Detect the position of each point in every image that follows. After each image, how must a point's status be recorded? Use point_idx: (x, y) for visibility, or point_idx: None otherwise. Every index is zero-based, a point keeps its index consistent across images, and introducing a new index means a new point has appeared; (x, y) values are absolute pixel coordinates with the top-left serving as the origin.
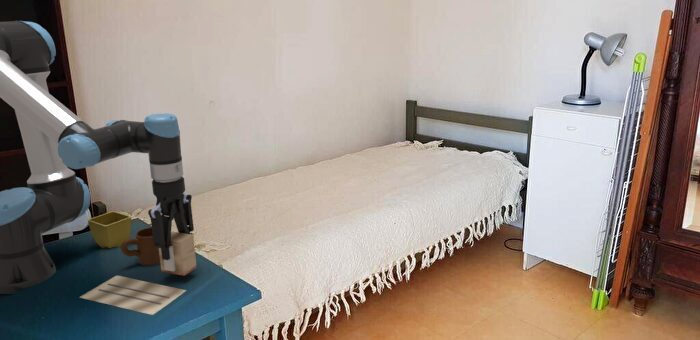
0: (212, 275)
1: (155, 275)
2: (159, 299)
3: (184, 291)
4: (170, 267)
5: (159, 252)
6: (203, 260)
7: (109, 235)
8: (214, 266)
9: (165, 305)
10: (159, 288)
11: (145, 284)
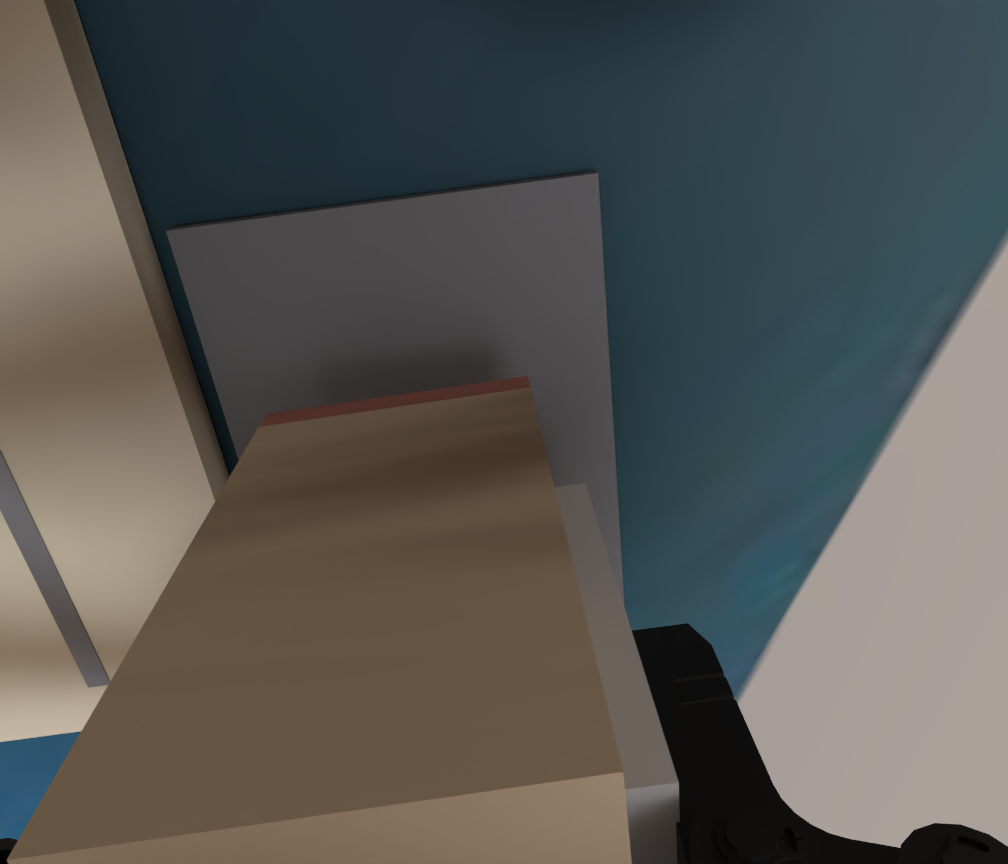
0: (669, 613)
1: (389, 102)
2: (17, 641)
3: None
4: None
5: (171, 589)
6: (939, 326)
7: None
8: (838, 515)
9: (3, 738)
10: (141, 493)
11: (83, 294)
